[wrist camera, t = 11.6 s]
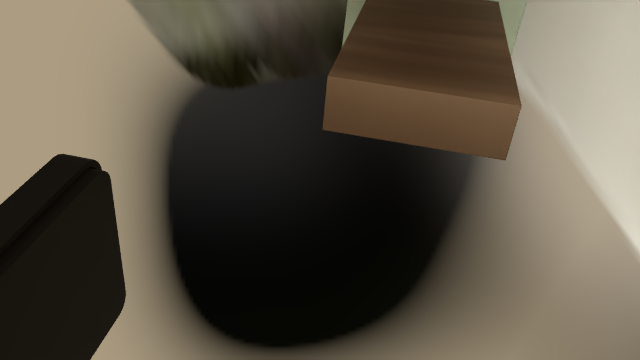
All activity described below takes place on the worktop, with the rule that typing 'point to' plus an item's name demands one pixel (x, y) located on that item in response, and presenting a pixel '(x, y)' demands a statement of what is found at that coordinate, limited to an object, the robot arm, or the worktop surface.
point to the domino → (426, 77)
